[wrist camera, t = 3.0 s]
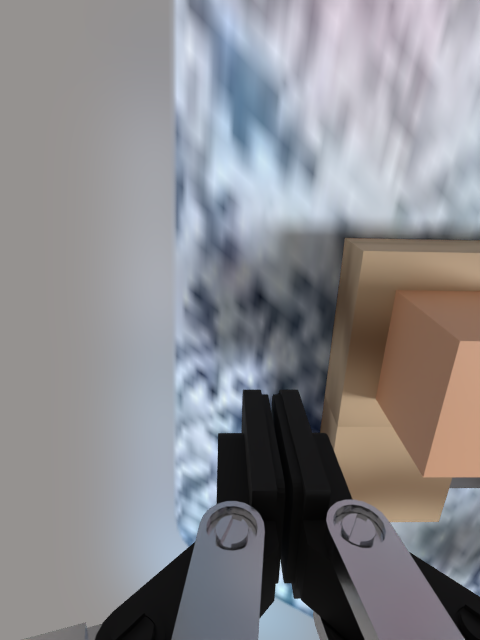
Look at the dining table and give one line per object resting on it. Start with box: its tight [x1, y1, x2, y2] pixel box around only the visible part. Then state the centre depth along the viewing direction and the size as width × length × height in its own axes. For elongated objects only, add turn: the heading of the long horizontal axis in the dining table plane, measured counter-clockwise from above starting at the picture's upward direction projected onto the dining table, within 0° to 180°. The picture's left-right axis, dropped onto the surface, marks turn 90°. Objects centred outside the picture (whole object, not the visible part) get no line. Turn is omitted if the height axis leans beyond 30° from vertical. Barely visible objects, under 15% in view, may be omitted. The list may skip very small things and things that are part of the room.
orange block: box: [376, 290, 480, 477], centre depth 14 cm, size 5×5×4 cm
